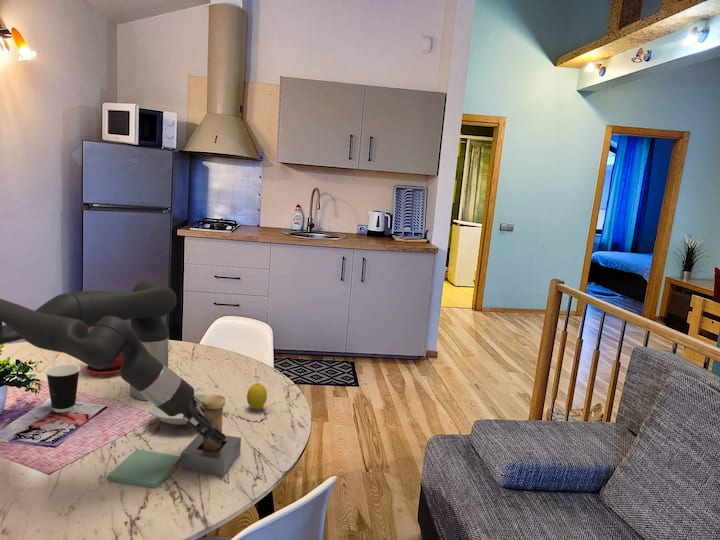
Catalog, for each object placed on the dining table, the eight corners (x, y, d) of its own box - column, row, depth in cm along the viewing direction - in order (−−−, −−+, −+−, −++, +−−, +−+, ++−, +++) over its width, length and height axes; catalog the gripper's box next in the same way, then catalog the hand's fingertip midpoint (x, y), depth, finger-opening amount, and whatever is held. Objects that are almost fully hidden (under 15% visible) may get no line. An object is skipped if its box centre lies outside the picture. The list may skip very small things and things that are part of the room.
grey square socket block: (180, 469, 111) (180, 453, 111) (200, 446, 121) (201, 431, 121) (223, 476, 110) (224, 459, 110) (240, 453, 120) (241, 437, 119)
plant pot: (138, 371, 162) (138, 335, 160) (98, 383, 151) (98, 344, 149) (114, 360, 169) (114, 326, 167) (74, 371, 158) (74, 334, 156)
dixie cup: (86, 402, 138) (86, 364, 136) (70, 416, 130) (70, 376, 128) (56, 401, 138) (56, 362, 136) (39, 414, 130) (38, 373, 128)
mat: (106, 480, 106) (106, 475, 105) (136, 453, 116) (136, 449, 116) (156, 488, 104) (156, 484, 104) (181, 460, 115) (181, 456, 115)
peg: (196, 465, 114) (199, 402, 111) (206, 454, 118) (208, 393, 116) (217, 468, 113) (219, 405, 111) (225, 457, 118) (228, 396, 115)
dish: (149, 441, 122) (149, 421, 121) (147, 414, 135) (147, 396, 134) (223, 431, 129) (224, 413, 129) (214, 407, 142) (215, 390, 141)
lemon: (261, 415, 140) (263, 388, 139) (243, 411, 141) (244, 385, 140) (269, 407, 145) (270, 381, 144) (251, 403, 146) (252, 377, 145)
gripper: (149, 389, 113) (200, 429, 121) (156, 418, 101) (212, 460, 108) (175, 365, 115) (223, 405, 122) (184, 390, 102) (238, 433, 110)
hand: (218, 431), depth 115 cm, fingers open, 8 cm apart
